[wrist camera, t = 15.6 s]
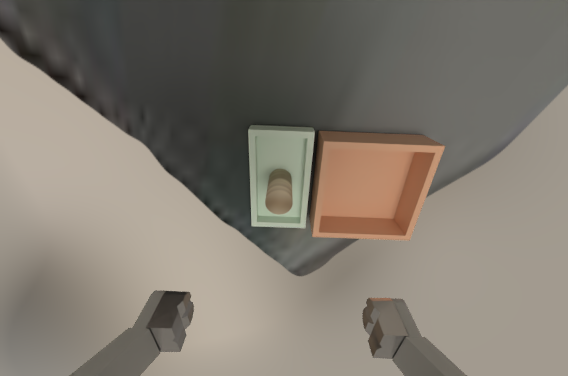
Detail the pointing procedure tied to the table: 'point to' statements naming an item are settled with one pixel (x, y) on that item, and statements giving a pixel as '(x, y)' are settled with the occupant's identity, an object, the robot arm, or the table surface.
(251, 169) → the green tray
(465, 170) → the table surface
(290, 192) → the birch cylinder
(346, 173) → the orange hollow square box
